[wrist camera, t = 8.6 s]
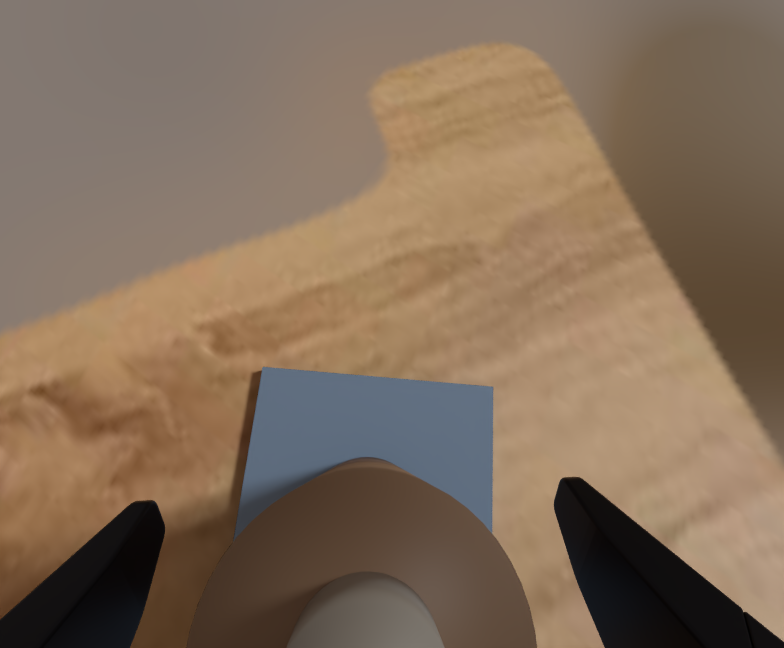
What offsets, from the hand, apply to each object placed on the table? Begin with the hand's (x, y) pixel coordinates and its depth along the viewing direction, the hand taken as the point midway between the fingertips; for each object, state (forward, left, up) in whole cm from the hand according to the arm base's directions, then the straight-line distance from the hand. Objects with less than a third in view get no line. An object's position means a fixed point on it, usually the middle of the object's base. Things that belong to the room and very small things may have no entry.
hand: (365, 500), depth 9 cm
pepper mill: (-2, 0, -8) cm, 8 cm away
